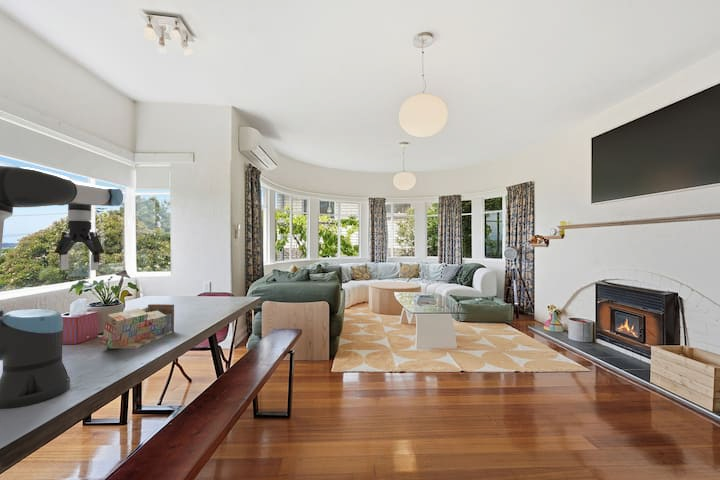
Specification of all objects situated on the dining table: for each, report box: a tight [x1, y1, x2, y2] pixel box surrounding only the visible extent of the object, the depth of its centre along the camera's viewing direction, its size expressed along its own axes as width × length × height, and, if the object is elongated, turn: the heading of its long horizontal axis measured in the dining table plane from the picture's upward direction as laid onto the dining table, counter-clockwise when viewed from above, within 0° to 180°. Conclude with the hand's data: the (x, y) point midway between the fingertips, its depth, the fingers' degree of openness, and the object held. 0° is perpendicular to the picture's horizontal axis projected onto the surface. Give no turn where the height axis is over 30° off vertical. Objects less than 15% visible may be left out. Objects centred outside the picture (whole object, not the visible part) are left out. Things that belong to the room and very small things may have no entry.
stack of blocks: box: [101, 307, 166, 350], centre depth 133 cm, size 21×6×12 cm, turn 159°
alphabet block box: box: [106, 303, 175, 350], centre depth 139 cm, size 24×12×13 cm, turn 177°
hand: (79, 270), depth 135 cm, fingers open, 13 cm apart
